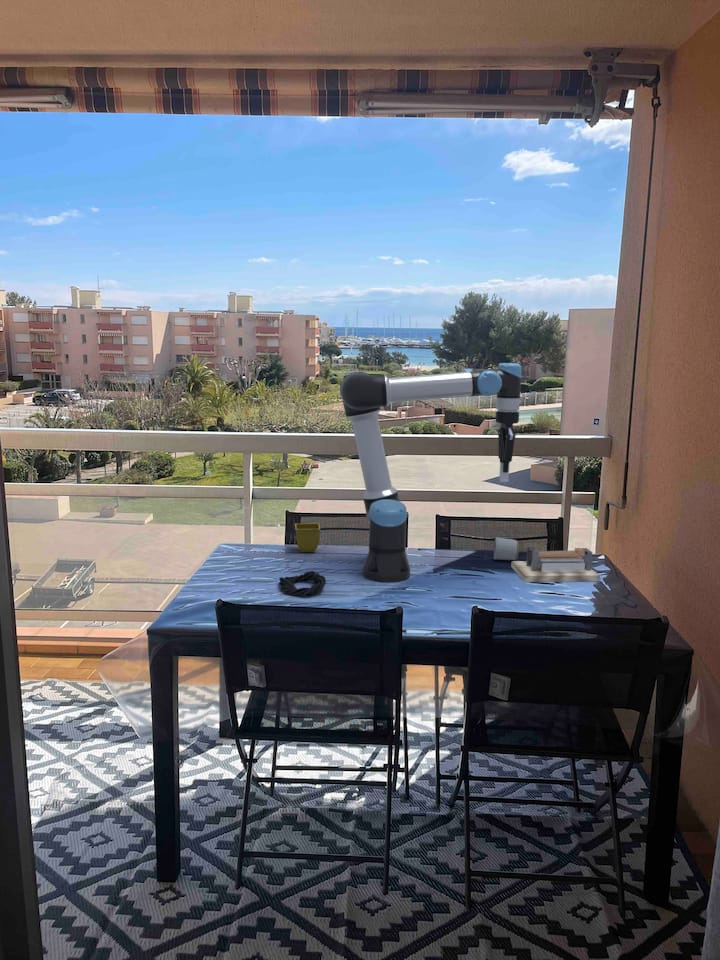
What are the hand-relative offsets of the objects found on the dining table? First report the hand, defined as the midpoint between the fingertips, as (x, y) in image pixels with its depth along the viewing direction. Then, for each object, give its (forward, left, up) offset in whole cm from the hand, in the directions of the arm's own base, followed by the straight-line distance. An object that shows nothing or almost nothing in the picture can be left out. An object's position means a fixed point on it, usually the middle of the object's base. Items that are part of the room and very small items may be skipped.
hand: (503, 481), depth 250 cm
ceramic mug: (+3, +6, -29) cm, 30 cm away
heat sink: (+16, -12, -26) cm, 33 cm away
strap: (+16, -12, -22) cm, 30 cm away
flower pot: (-65, +17, -29) cm, 73 cm away
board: (+15, -12, -28) cm, 34 cm away
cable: (-67, -25, -29) cm, 77 cm away
